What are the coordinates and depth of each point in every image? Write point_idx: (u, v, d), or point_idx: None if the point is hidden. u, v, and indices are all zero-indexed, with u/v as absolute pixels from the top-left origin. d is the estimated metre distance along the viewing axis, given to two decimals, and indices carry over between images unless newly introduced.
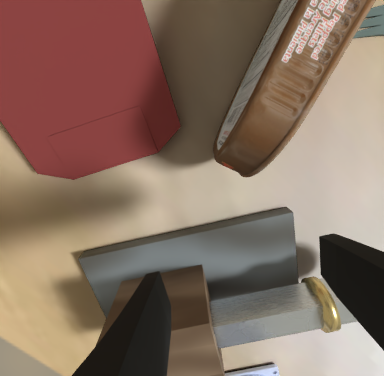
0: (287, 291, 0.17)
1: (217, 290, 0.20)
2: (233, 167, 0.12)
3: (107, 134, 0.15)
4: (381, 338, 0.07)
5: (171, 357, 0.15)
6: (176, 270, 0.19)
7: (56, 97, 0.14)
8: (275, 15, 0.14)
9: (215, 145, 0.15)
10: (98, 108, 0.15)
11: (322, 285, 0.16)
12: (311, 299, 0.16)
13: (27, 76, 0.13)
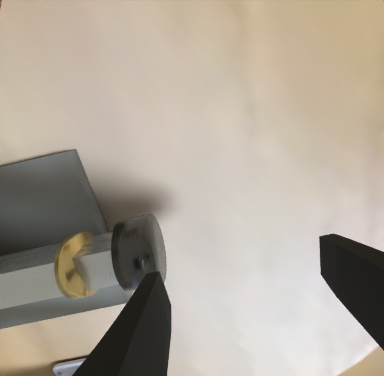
0: (48, 249, 0.14)
1: None
2: None
3: None
4: (381, 338, 0.07)
5: None
6: None
7: None
8: None
9: None
10: None
11: (72, 238, 0.12)
12: None
13: None
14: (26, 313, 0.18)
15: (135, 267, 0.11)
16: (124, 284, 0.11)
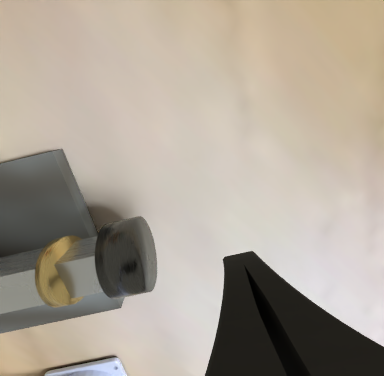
0: (31, 254, 0.13)
1: None
2: None
3: None
4: None
5: None
6: None
7: None
8: None
9: None
10: None
11: (56, 242, 0.12)
12: None
13: None
14: (14, 320, 0.18)
15: (120, 274, 0.10)
16: (109, 292, 0.11)
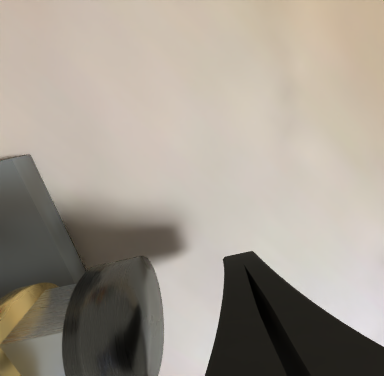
0: None
1: None
2: None
3: None
4: None
5: None
6: None
7: None
8: None
9: None
10: None
11: (8, 303, 0.08)
12: None
13: None
14: None
15: (105, 373, 0.06)
16: None
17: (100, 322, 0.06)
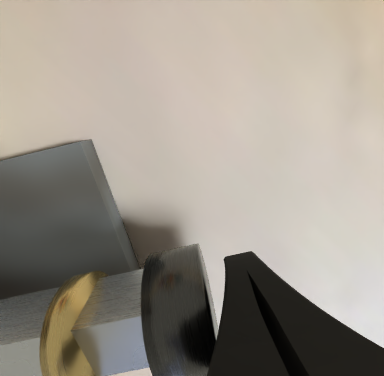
0: (33, 301, 0.09)
1: None
2: None
3: None
4: None
5: None
6: None
7: None
8: None
9: None
10: None
11: (72, 289, 0.07)
12: None
13: None
14: None
15: (187, 356, 0.06)
16: None
17: (179, 305, 0.06)
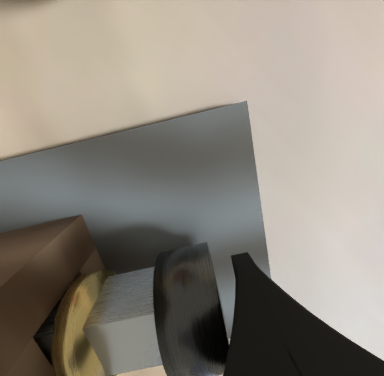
0: None
1: (119, 266, 0.11)
2: None
3: None
4: None
5: None
6: (32, 225, 0.10)
7: None
8: None
9: None
10: None
11: (83, 287, 0.07)
12: None
13: None
14: None
15: (201, 354, 0.06)
16: None
17: (192, 303, 0.06)
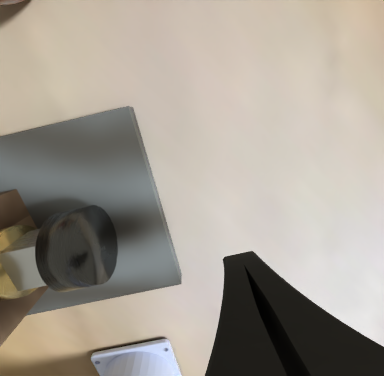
0: None
1: None
2: None
3: None
4: None
5: None
6: None
7: None
8: None
9: None
10: None
11: (1, 231, 0.11)
12: None
13: None
14: (68, 295, 0.17)
15: (61, 265, 0.10)
16: (52, 284, 0.10)
17: (60, 235, 0.10)
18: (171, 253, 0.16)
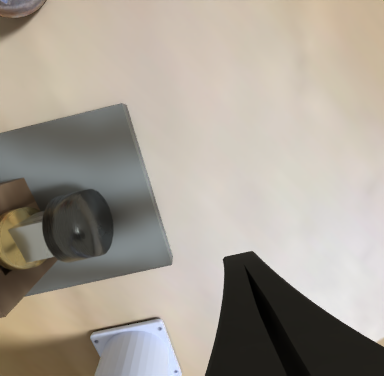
0: None
1: None
2: None
3: None
4: None
5: None
6: None
7: None
8: None
9: None
10: None
11: (12, 211, 0.13)
12: None
13: None
14: (69, 276, 0.19)
15: (65, 236, 0.11)
16: (56, 253, 0.12)
17: (63, 211, 0.12)
18: (162, 236, 0.18)
